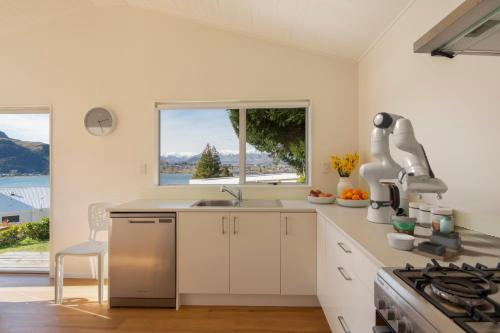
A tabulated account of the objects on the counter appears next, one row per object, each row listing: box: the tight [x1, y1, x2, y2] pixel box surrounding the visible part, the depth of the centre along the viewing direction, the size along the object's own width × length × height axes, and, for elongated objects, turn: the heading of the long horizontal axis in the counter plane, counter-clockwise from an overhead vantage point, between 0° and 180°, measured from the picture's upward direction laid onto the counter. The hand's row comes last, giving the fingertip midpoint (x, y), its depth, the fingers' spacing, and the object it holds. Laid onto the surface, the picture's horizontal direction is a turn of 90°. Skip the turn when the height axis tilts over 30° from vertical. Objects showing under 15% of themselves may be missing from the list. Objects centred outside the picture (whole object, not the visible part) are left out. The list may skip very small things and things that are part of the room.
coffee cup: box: [431, 214, 455, 232], centre depth 129 cm, size 9×9×12 cm
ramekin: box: [386, 232, 416, 251], centre depth 118 cm, size 11×11×5 cm
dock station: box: [412, 229, 465, 262], centre depth 112 cm, size 23×11×8 cm, turn 123°
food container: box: [392, 215, 418, 237], centre depth 138 cm, size 12×6×10 cm, turn 71°
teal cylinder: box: [440, 214, 452, 234], centre depth 116 cm, size 4×4×9 cm
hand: (430, 198), depth 128 cm, fingers open, 8 cm apart
